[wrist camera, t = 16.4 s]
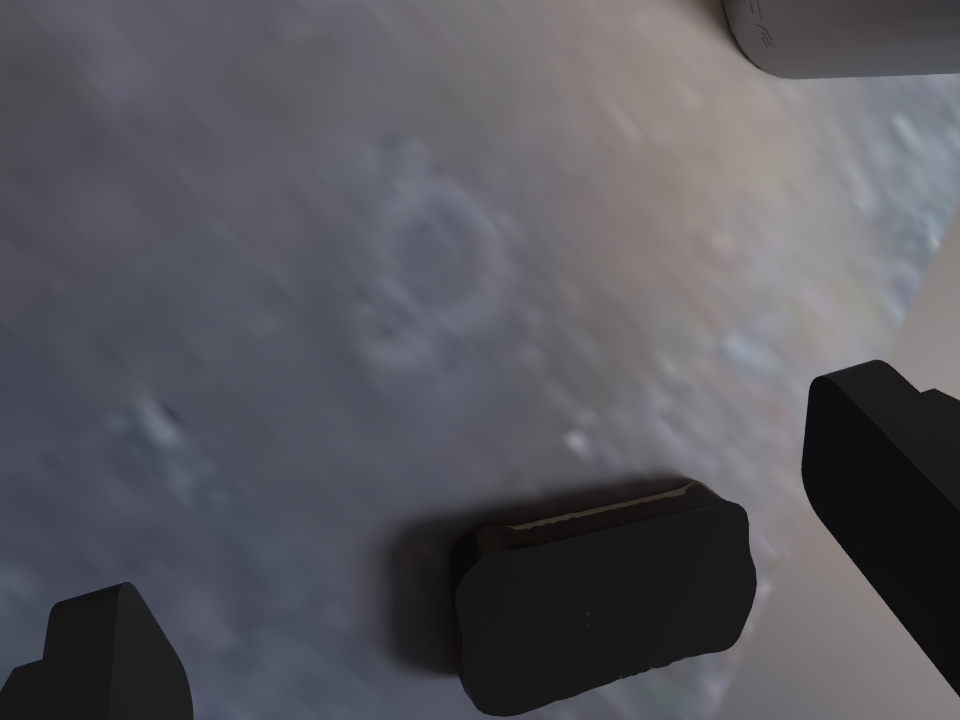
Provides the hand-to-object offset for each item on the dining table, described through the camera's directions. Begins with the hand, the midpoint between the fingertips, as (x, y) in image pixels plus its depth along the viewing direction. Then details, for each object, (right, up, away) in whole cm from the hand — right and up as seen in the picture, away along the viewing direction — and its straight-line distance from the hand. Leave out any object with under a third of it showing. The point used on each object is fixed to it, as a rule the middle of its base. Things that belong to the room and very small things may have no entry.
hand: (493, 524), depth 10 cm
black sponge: (+5, -9, +35) cm, 36 cm away
